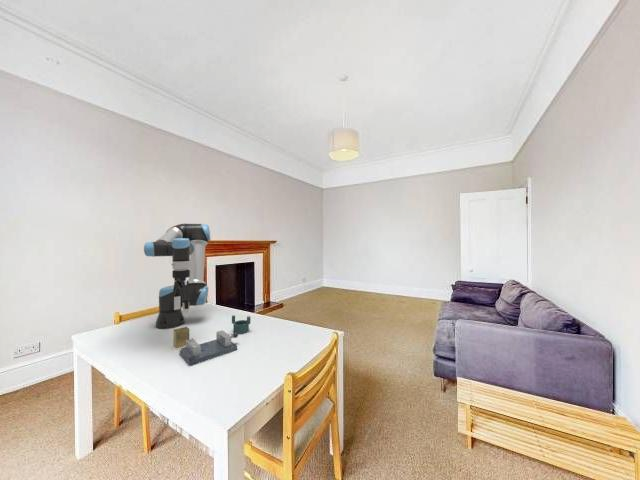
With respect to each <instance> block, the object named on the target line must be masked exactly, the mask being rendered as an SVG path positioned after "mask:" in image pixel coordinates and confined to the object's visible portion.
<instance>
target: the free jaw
mask: <svg viewBox="0 0 640 480" xmlns="http://www.w3.org/2000/svg"><path fill="white" fill-rule="evenodd" d="M238 336H239V334H238V333H237V332H235V333H228V332H226V331H224V330H222V329H221V330H219V331H216V336H215V337H216V339H215V340H216V341H217V342H219V343H220V344H221V345H223V346H224V347H228V346H231V342H232V339H236V338H238Z"/></svg>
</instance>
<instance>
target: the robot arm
mask: <svg viewBox="0 0 640 480" xmlns="http://www.w3.org/2000/svg"><path fill="white" fill-rule="evenodd" d="M211 238H212V237H211V230H210V226H209V224H205V223H180V224H179V223H178V224H176V225H173V226H171V227H169V228H168V229H167V230H166V231H165V233H164V234H163V235H162V236H160V237H159V238H158V239H157V240H155V241H145V243H144V244H143V245H144V246H143V253H144V255H145V256H146V257H172V260H171V261H172V263H171V264H170V266H172V273H171V274H172V276H171V277H172V278H173V279H174V283H173V285H169V286H164V287H162V288H160V289H159V292H158V316H157V318H156V321H155V328H157V329H160V330H161V329H172V328H176V327H179V326H182V325H184V324H185V319H186V318H185V316H190V307H193V306H194V307H195V306H196V307H197V306H203V305H205V304H206V303H207V300H208V296H209V295H208V294H209V286H208V285H207V282H205V281H204V277H205V260H206V259H205V257H206V246H207V245H208V244H209V242H210V241H211ZM187 279H188V280H187Z"/></svg>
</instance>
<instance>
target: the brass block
mask: <svg viewBox="0 0 640 480" xmlns="http://www.w3.org/2000/svg"><path fill="white" fill-rule="evenodd" d="M172 334H173V335H172V336H173V338H172V339H173V343H172V344H173V347H174V348H175V349H178V348H184V347H186V340H189V339H190V328H189V327H188V326H184V327H180V328H176V329H175V328H174V329H173V330H172Z"/></svg>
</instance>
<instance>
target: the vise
mask: <svg viewBox="0 0 640 480" xmlns="http://www.w3.org/2000/svg"><path fill="white" fill-rule="evenodd" d="M235 351H238V345H237V344H235V343H234V342H232V341H231V346H228V347H224V346H223V345H221V344H220V343H219V342H217V341H216V339H214V340H209V341H206V342H203V343H199V342H197V341H196V340H195V339H194V338H189V340H186V346H184V347H180V349H179V356H180V357H181V358H182V359H183V361H185V363H186V364H187V365H188V367H191V366H194V365H197V364H200V363H203V362H206V361H209V360H212V359H215V358H217V356H218V357H220V356H223V355H225V354H226V355H227V354H229V353H231V352H232V353H233V352H235ZM214 357H215V358H214ZM211 358H212V359H211ZM208 359H209V360H208ZM205 360H206V361H205ZM202 361H203V362H202ZM199 362H200V363H199Z"/></svg>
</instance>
